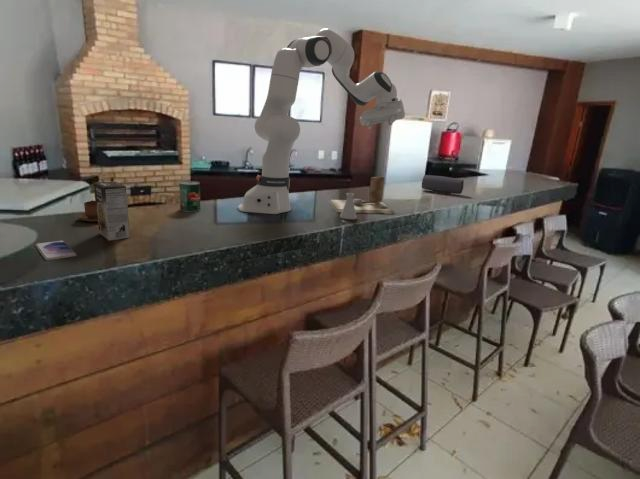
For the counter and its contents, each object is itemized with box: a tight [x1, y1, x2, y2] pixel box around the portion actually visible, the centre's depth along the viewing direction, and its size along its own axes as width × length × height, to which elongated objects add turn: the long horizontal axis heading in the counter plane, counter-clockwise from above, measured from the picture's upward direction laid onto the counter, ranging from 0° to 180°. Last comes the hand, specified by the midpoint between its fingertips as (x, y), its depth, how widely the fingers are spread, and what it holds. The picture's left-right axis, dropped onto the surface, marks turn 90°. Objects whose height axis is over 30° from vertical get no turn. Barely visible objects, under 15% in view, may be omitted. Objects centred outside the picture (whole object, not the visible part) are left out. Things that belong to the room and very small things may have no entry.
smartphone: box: [34, 240, 78, 261], centre depth 107 cm, size 7×1×15 cm
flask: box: [339, 192, 358, 220], centre depth 161 cm, size 7×7×10 cm
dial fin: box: [353, 176, 385, 205], centre depth 182 cm, size 16×4×12 cm, turn 122°
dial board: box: [329, 199, 394, 215], centre depth 182 cm, size 25×20×2 cm
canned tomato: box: [178, 180, 201, 213], centre depth 159 cm, size 8×8×11 cm
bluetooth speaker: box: [421, 174, 465, 195], centre depth 236 cm, size 23×9×10 cm, turn 58°
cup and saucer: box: [77, 200, 98, 223], centre depth 137 cm, size 12×12×6 cm
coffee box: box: [93, 181, 131, 242], centre depth 120 cm, size 9×6×16 cm
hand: (379, 125), depth 174 cm, fingers open, 8 cm apart
